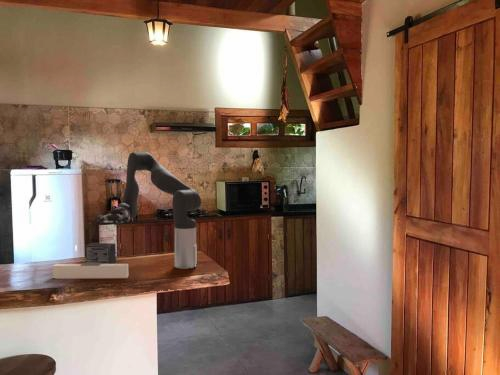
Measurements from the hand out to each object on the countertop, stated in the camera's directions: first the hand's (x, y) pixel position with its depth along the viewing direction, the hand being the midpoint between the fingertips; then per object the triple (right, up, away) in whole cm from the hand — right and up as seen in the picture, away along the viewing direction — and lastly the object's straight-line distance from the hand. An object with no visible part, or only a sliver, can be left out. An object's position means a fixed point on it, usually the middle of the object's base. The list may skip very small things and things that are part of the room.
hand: (109, 221), depth 176 cm
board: (+1, -20, -23) cm, 31 cm away
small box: (+1, -19, -11) cm, 22 cm away
